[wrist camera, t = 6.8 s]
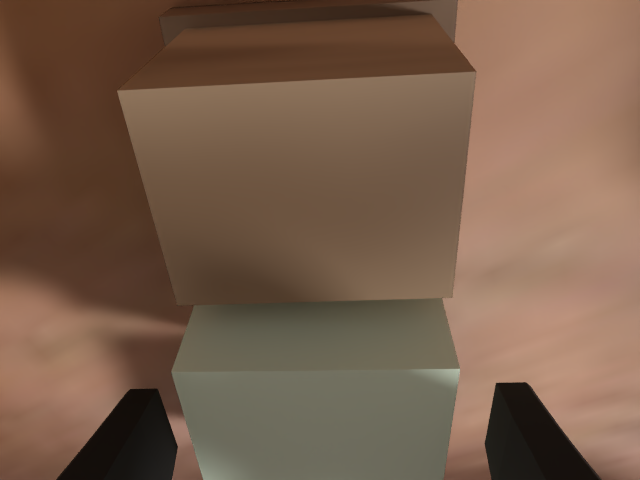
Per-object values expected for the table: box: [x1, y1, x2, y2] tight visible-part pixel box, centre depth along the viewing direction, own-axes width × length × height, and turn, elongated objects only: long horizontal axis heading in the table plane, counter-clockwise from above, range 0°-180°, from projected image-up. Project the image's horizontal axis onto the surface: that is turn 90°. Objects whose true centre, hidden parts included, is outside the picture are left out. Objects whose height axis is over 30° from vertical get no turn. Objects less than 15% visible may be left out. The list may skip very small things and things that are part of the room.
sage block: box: [171, 298, 460, 480], centre depth 12 cm, size 5×5×5 cm
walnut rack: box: [117, 0, 476, 306], centre depth 13 cm, size 15×6×5 cm, turn 3°
